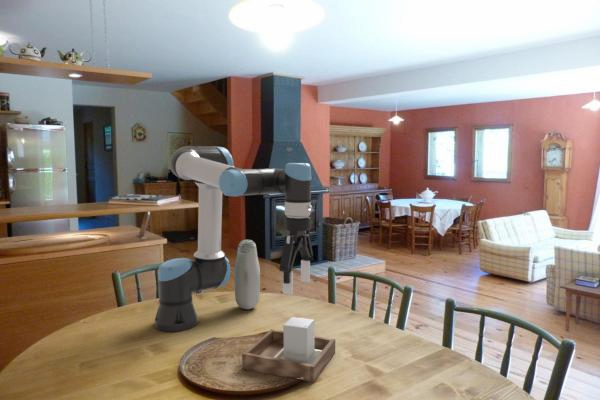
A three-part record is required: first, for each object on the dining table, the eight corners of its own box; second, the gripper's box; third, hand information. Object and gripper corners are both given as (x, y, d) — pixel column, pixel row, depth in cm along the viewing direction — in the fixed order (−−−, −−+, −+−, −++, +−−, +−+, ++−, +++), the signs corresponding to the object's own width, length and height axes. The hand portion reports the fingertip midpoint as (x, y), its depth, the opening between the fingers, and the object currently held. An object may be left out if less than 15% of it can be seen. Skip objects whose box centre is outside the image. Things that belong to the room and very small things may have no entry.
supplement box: (315, 360, 136) (315, 319, 134) (306, 371, 129) (307, 328, 127) (292, 356, 138) (292, 316, 137) (282, 367, 131) (282, 324, 130)
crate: (242, 368, 132) (242, 353, 131) (271, 342, 150) (271, 329, 150) (313, 382, 124) (314, 366, 123) (335, 353, 142) (335, 339, 142)
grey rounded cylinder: (233, 305, 187) (232, 238, 184) (258, 303, 190) (257, 237, 187) (236, 313, 178) (235, 242, 175) (262, 311, 180) (261, 241, 177)
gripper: (293, 223, 119) (292, 301, 122) (323, 211, 142) (322, 278, 145) (267, 221, 122) (266, 298, 124) (301, 210, 145) (300, 275, 147)
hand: (296, 287), depth 134 cm, fingers open, 13 cm apart
